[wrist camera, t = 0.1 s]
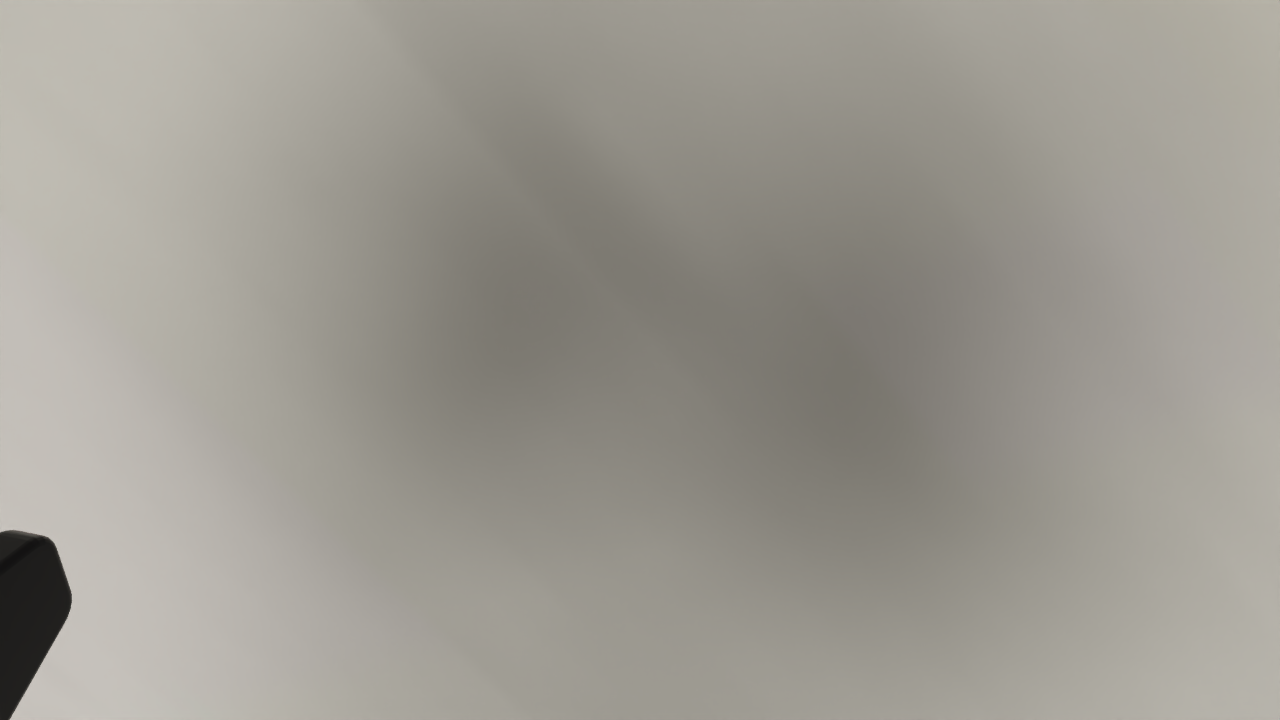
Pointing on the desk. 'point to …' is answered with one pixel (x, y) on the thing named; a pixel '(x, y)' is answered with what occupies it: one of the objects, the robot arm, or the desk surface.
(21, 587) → the robot arm
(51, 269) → the desk surface
